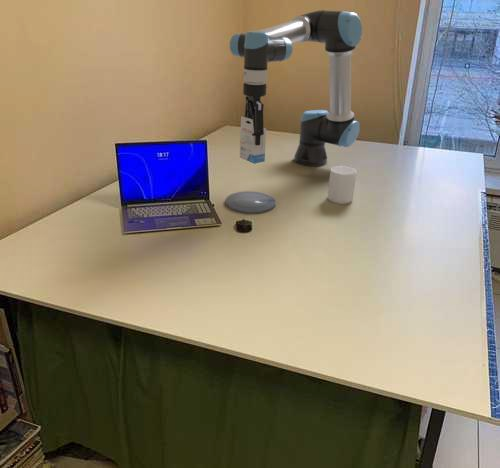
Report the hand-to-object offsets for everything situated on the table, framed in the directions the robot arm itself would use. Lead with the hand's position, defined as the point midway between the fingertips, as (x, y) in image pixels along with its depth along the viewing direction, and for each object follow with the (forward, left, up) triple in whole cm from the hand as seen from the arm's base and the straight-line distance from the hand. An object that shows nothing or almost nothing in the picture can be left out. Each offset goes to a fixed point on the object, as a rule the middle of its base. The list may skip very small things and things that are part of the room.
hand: (252, 149), depth 167 cm
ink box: (0, 0, -4) cm, 4 cm away
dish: (0, 0, -20) cm, 20 cm away
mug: (-34, +1, -20) cm, 40 cm away
